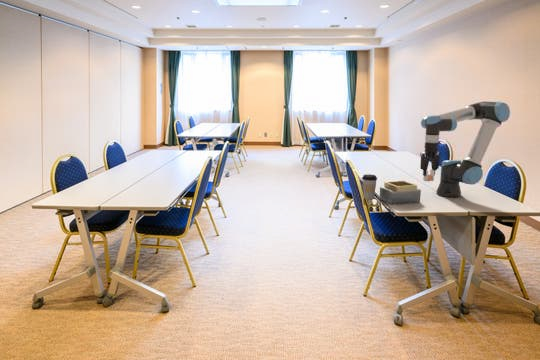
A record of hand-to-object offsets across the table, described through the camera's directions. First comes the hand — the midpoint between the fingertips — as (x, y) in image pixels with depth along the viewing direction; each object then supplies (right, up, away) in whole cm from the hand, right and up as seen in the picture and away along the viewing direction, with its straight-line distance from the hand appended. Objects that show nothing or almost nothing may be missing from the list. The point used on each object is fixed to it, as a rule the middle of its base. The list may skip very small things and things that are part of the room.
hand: (428, 180), depth 261 cm
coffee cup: (-32, -12, +16) cm, 38 cm away
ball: (0, 0, 0) cm, 0 cm away
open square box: (-14, -13, +11) cm, 22 cm away
